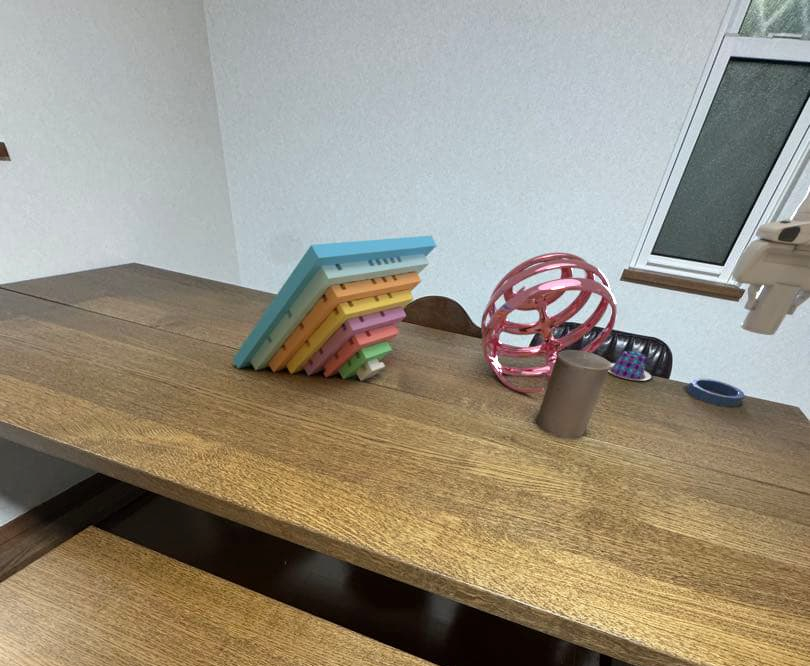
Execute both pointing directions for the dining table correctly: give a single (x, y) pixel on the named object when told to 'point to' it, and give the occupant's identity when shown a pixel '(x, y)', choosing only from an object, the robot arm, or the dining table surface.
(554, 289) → the spiral basket
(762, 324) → the cup
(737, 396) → the tape ring
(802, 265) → the robot arm
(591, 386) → the pillar candle
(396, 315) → the rainbow stepped pyramid
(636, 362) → the pudding
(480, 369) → the dining table surface
